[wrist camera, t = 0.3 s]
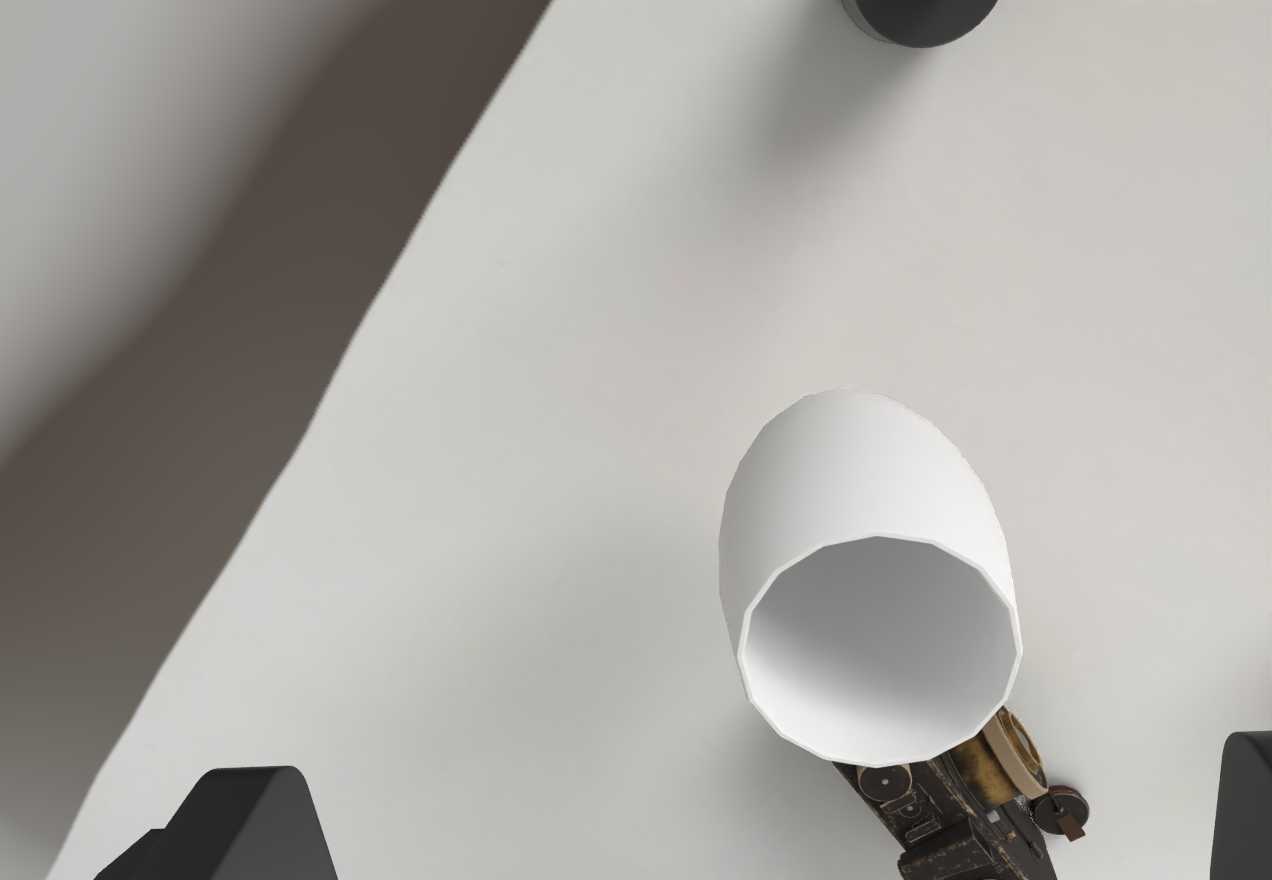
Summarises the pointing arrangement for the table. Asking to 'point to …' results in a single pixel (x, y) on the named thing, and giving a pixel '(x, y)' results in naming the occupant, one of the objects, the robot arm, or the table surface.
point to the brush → (917, 19)
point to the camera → (972, 807)
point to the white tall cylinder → (866, 583)
